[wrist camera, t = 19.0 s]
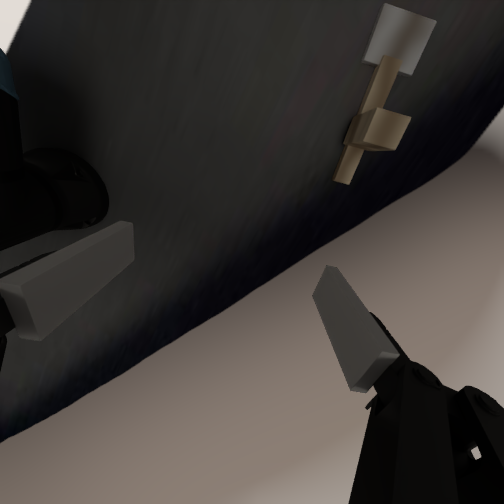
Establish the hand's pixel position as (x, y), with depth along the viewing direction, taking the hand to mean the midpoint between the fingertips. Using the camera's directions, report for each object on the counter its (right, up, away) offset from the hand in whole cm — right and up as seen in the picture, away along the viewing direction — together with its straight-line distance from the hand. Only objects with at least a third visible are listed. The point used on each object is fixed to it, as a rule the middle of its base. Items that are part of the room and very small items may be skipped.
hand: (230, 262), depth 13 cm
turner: (+21, +24, +20) cm, 38 cm away
